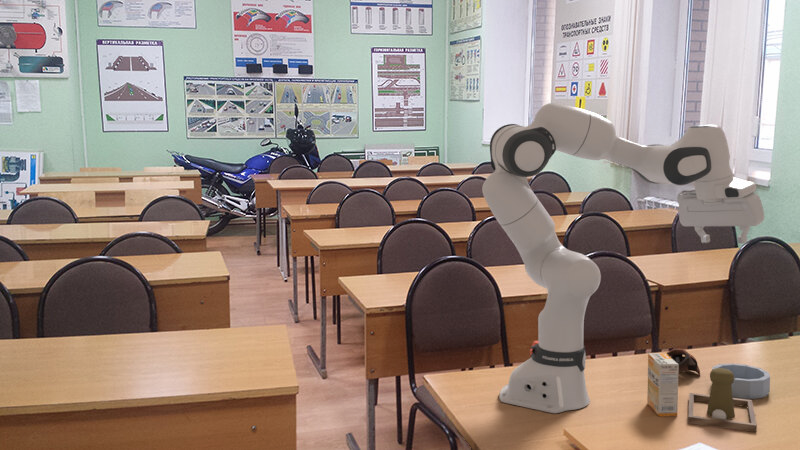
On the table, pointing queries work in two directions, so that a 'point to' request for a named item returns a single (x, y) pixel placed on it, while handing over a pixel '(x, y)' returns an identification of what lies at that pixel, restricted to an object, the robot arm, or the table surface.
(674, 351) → the pottery mug
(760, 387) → the bowl
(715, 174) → the robot arm
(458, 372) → the table surface
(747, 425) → the tray
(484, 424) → the table surface
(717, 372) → the cork
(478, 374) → the table surface
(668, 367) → the supplement box
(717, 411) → the pebble
